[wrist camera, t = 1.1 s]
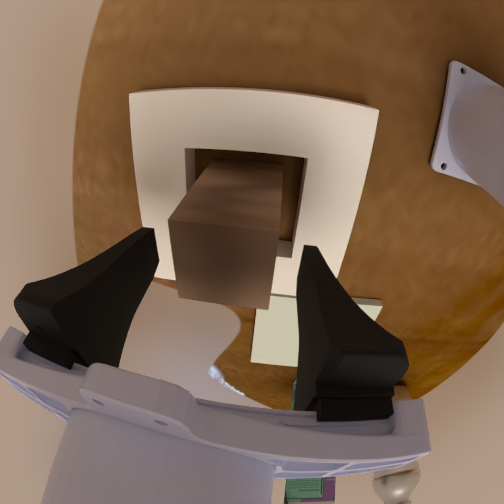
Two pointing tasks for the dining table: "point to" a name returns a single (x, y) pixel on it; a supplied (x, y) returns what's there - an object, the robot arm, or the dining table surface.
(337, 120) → the socket board
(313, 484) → the spray can
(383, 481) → the plastic bottle
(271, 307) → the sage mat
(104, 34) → the dining table surface
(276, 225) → the walnut block
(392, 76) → the dining table surface
